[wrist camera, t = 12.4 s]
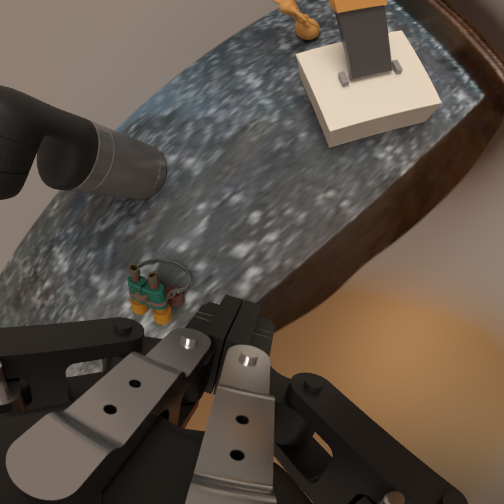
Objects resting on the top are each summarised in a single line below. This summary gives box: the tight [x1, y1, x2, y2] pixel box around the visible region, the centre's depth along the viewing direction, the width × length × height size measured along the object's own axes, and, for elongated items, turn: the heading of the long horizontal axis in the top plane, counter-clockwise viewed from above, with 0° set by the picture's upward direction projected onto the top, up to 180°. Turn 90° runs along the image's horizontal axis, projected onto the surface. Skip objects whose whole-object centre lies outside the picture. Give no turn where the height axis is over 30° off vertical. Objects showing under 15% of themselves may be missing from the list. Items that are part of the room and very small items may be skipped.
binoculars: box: [128, 258, 190, 325], centre depth 45 cm, size 9×9×10 cm
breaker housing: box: [296, 31, 442, 148], centre depth 36 cm, size 12×16×9 cm
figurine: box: [273, 0, 320, 40], centre depth 36 cm, size 8×6×12 cm
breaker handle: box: [329, 0, 393, 80], centre depth 27 cm, size 2×6×12 cm, turn 108°
